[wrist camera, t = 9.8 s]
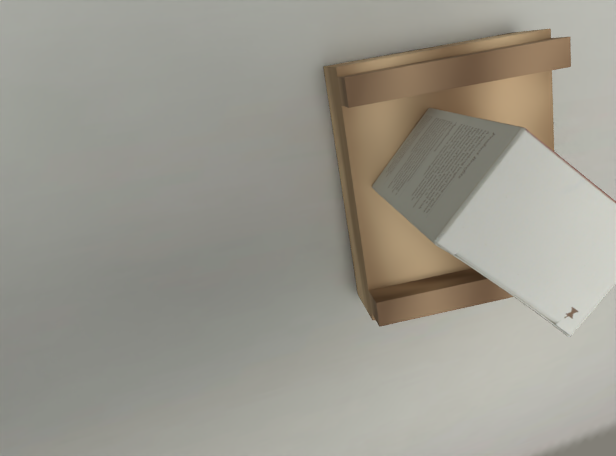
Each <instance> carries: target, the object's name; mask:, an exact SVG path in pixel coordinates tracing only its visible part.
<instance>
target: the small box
mask: <svg viewBox="0 0 616 456" xmlns="http://www.w3.org/2000/svg"><path fill="white" fill-rule="evenodd" d="M372 188H373V189H374V190H375V191H376V192H377V193H378V194H379V195H380V196H381V197H382V198H384V199H385V200H386V201H387V202H388V203H389V204H390V205H392V206H393V207H394V208H395V209H396V210H397V211H398V212H399V213H400V214H402V215H403V216H404V217H405V218H406V219H407V220H408V221H409V222H410V223H411V224H413V225H414V226H415V227H416V228H417V229H418V230H419V231H420V232H421V233H423V234H424V235H425V236H426V237H427V238H428V239H429V240H430V241H432V242H433V243H434V244H435V245H436V246H438V247H439V248H441V249H443V250H445V251H446V252H448V253H450V254H451V255H453V256H454V257H456V258H458V259H459V260H461V261H462V262H464V263H465V264H467V265H468V266H470V267H471V268H473V269H474V270H476V271H477V272H479V273H480V274H481V275H483V276H484V277H486V278H487V279H489V280H490V281H492V282H493V283H495V284H496V285H498V286H499V287H500V288H502V289H503V290H505V291H506V292H508V293H509V294H510V295H512V296H513V297H515V298H516V299H518V300H519V301H520V302H522V303H523V304H525V305H526V306H528V307H529V308H530V309H532V310H533V311H535V312H536V313H537V314H539V315H540V316H541V317H543V318H544V319H545V320H547V321H548V322H549V323H551V324H552V325H553V326H555V327H556V328H557V329H559V330H560V331H561V332H562V333H564V334H565V335H566V336H572V334H573V333H574V332H575V331H576V330H577V329H578V328H579V326H580V325H581V324H582V323H583V322H584V321H585V319H586V318H587V317H588V316H589V315H590V314H591V312H592V311H593V310H594V309H595V308H596V306H597V305H598V304H599V303H600V302H601V301H602V299H603V298H604V297H605V296H606V295H607V293H608V292H609V291H610V290H611V289H612V288H613V286H614V285H615V284H616V201H614V200H613V199H612V198H611V197H610V196H608V195H607V194H606V193H605V192H603V191H602V190H601V189H600V188H598V187H597V186H596V185H595V184H593V183H592V182H591V181H590V180H589V179H587V178H586V177H585V176H584V175H582V174H581V173H580V172H579V171H577V170H576V169H575V168H574V167H572V166H571V165H570V164H569V163H568V162H566V161H565V160H564V159H563V158H561V157H560V156H559V155H558V154H556V153H555V152H554V151H553V150H552V149H550V148H549V147H548V146H547V145H545V144H544V143H543V142H542V141H540V140H539V139H538V138H537V137H535V136H534V135H533V134H532V133H530V132H529V131H528V130H527V129H526V128H524V127H520V126H514V125H510V124H505V123H500V122H496V121H491V120H487V119H481V118H476V117H471V116H466V115H462V114H458V113H453V112H448V111H442V110H438V109H434V108H429V109H428V110H427V111H426V112H425V114H424V115H423V117H422V118H421V119H420V121H419V122H418V123H417V125H416V126H415V127H414V129H413V130H412V132H411V133H410V134H409V136H408V137H407V138H406V140H405V141H404V142H403V144H402V145H401V147H400V148H399V149H398V151H397V152H396V153H395V155H394V156H393V157H392V159H391V160H390V162H389V163H388V164H387V166H386V167H385V168H384V170H383V171H382V173H381V174H380V175H379V177H378V178H377V180H376V181H375V182H374V184H373V185H372Z"/></svg>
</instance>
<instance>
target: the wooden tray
mask: <svg viewBox="0 0 616 456" xmlns="http://www.w3.org/2000/svg"><path fill="white" fill-rule="evenodd" d="M566 67H571V52H570V37H561V38H551V29H543V30H533V31H524V32H514V33H509V34H503V35H497V36H492V37H486V38H481V39H475V40H469V41H464V42H458V43H452V44H447V45H441V46H436V47H430V48H424V49H419V50H413V51H408V52H402V53H396V54H391V55H385V56H380V57H374V58H368V59H363V60H357V61H352V62H346V63H340V64H335V65H329V66H324V67H323V68H324V74H325V81H326V87H327V94H328V101H329V107H330V114H331V120H332V127H333V134H334V140H335V147H336V153H337V160H338V167H339V173H340V180H341V186H342V193H343V200H344V206H345V213H346V219H347V226H348V233H349V239H350V246H351V252H352V259H353V266H354V272H355V279H356V285H357V292H358V295H359V297H360V299H361V301H362V302H363V304H364V306H365V308H366V309H367V311H368V313H369V315H370V316H371V318H372V320H376V321H377V323H378V325H379V326H384V325H389V324H393V323H398V322H402V321H407V320H411V319H416V318H420V317H425V316H429V315H434V314H438V313H443V312H447V311H452V310H456V309H461V308H465V307H470V306H474V305H479V304H483V303H488V302H492V301H497V300H501V299H506V298H510V297H513V296H512V295H510V294H509V293H508V292H506V291H505V290H503V289H502V288H500V287H499V286H498V285H496V284H495V283H493V282H492V281H490V280H489V279H487V278H486V277H484V276H483V275H481V274H480V273H479V272H477V271H476V270H474V269H473V268H471V267H470V266H468V265H467V264H465V263H464V262H462V261H461V260H459V259H458V258H456V257H454V256H453V255H451V254H450V253H448V252H446V251H445V250H443V249H441V248H439V247H438V246H436V245H435V244H434V243H433V242H432V241H430V240H429V239H428V238H427V237H426V236H425V235H424V234H423V233H421V232H420V231H419V230H418V229H417V228H416V227H415V226H414V225H413V224H411V223H410V222H409V221H408V220H407V219H406V218H405V217H404V216H403V215H402V214H400V213H399V212H398V211H397V210H396V209H395V208H394V207H393V206H392V205H390V204H389V203H388V202H387V201H386V200H385V199H384V198H382V197H381V196H380V195H379V194H378V193H377V192H376V191H375V190H374V189H373V188H372V185H373V184H374V182H375V181H376V180H377V178H378V177H379V175H380V174H381V173H382V171H383V170H384V168H385V167H386V166H387V164H388V163H389V162H390V160H391V159H392V157H393V156H394V155H395V153H396V152H397V151H398V149H399V148H400V147H401V145H402V144H403V142H404V141H405V140H406V138H407V137H408V136H409V134H410V133H411V132H412V130H413V129H414V127H415V126H416V125H417V123H418V122H419V121H420V119H421V118H422V117H423V115H424V114H425V112H426V111H427V110H428V109H429V108H434V109H438V110H442V111H448V112H453V113H458V114H462V115H466V116H471V117H476V118H481V119H487V120H491V121H496V122H500V123H505V124H510V125H514V126H520V127H524V128H526V129H527V130H528V131H529V132H530V133H532V134H533V135H534V136H535V137H537V138H538V139H539V140H540V141H542V142H543V143H544V144H545V145H547V146H548V147H549V148H550V149H552V150H553V151H554V132H553V98H552V70H556V69H561V68H566Z"/></svg>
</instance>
